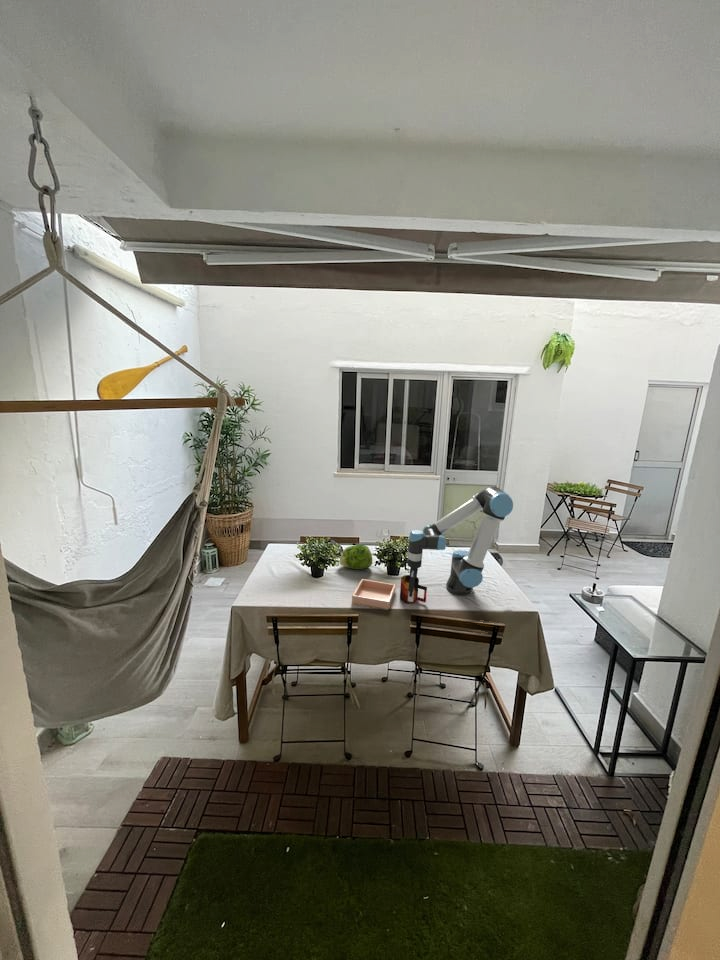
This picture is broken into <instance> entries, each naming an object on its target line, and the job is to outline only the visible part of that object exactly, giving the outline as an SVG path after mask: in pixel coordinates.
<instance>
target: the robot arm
mask: <svg viewBox="0 0 720 960" xmlns="http://www.w3.org/2000/svg"><path fill="white" fill-rule="evenodd" d="M513 509H514V502H513V499H512V498H511V496H510V495H509V494H508V493H506V492H505V491H504V490H502V489H500V488H499V487H497V486H489V487H488V486H487V487H485V488H483V489H482V490H480V491H478V492H477V493H476V494H474V495H472V498H470V499H469V500H467V502H464V503H463V504H462V505H460V506H459V507H458V508H456V509H454V510H452V511H451V512H450V513H448V514H446V515H445V516H444V517H442V518H440V519H439V520H437V521H436V522H434V523H432V524H426V525H424V527H422V530H419V529H413V530H411V531H410V532H409V538H408V550H407V552H406V554H407V564H406V565H407V566H408V568H410V569H409V575H410V580H409V589H407V591H409V593H408V601H409V602H413V596H414V582H415V578H416V577H417V578H418V571H419V569H420V568H421V567H422V564H423V563H422V562H423V561H422V559H423V551H424V550H431V551H432V550H435V551H442V550H445V549H446V547H447V537H446V536H445V535H443V534H445V533H447V532H448V531H450V530H451V529H453V528H455V527H456V526H458V525H459V524H460V523H462V522H464V521H466V520H467V519H468V518H470V517H471V516H473V515H474V514H476V513H478V512H479V511H482V515H483V516H482V519H481V520H480V524H479V526H478V529H477V531H476V533H475V536H474V538H473V540H472V543H471V546H470V548H469V550H468V551H467V550H454V551H453V552H452V556H451V564H450V575H449V577H448V580H446V585H445V588H446V590H447V591H448V592H450V593H451V592H452V594H454V595H457V594H459V595H458V596H467V595H466V594H469V595H471V594H472V593H473V592H474V588H475V587H479V586H480V585H481V584H482V582H483V578H484V577H483V571H484V568H485V564H484V561H485V558H486V555H487V553H488V551H489V548H490V545H491V543H492V542H493V538H494V536H495V534H496V531H497V529H498V527H499V525H500V522H503V521H505V518H506V517H507V516H509V515H510V514H511V512H512V511H513ZM472 591H473V592H472ZM471 592H472V593H471ZM470 593H471V594H470Z"/></svg>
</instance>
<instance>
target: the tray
mask: <svg viewBox="0 0 720 960" xmlns="http://www.w3.org/2000/svg"><path fill="white" fill-rule="evenodd" d="M396 586H397V585H396V584H395V583H389V582H384V581H383V582H382V581H376V580H372V579H371V580H370V579H364V578H361V580H360V581H359V583H358V585H357V586H356V588H355V589H354V592H353V594H352V595H351V604H352V605H356V606H363V607H367V606H368V608H373V607H375V608H374V609H379V610H385V611H390V607H391V605H392V602H393V599H394V597H395V595H394V594H396V588H397V587H396Z"/></svg>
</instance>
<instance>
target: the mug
mask: <svg viewBox="0 0 720 960" xmlns="http://www.w3.org/2000/svg"><path fill="white" fill-rule="evenodd" d="M409 580H410V574H406V575H402V576H401V579H400V590H399V600H400V602H402V603H405V604H409V605H411V604H414V603H417V602H422V603H426V602H427V591H428V587H427V586H424V585H420V584H419V582H420V579H419V577H418V576H417V577H416V578H415V582H414V596H413V602H409V601H408V593H409V591H407V589H409ZM419 589H420V590H423V593H424V594H423V598H422V597H420V596H419V595H418V594H419Z"/></svg>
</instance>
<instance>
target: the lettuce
mask: <svg viewBox="0 0 720 960" xmlns="http://www.w3.org/2000/svg"><path fill="white" fill-rule="evenodd" d="M340 555H341V556H340ZM340 555H339V557H340V561H339V560H338V563H339V565H340V566H343V567H345V568H348V569H352V570H364V569H367V568H371V566H372V565H373V556H372V555H373V554H372V552H371V549H370V548H369V547H368V546H367V545H366V544H355V545H351V546H348V547H346V548H345V549H343V550H342V552H341V554H340Z"/></svg>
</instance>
